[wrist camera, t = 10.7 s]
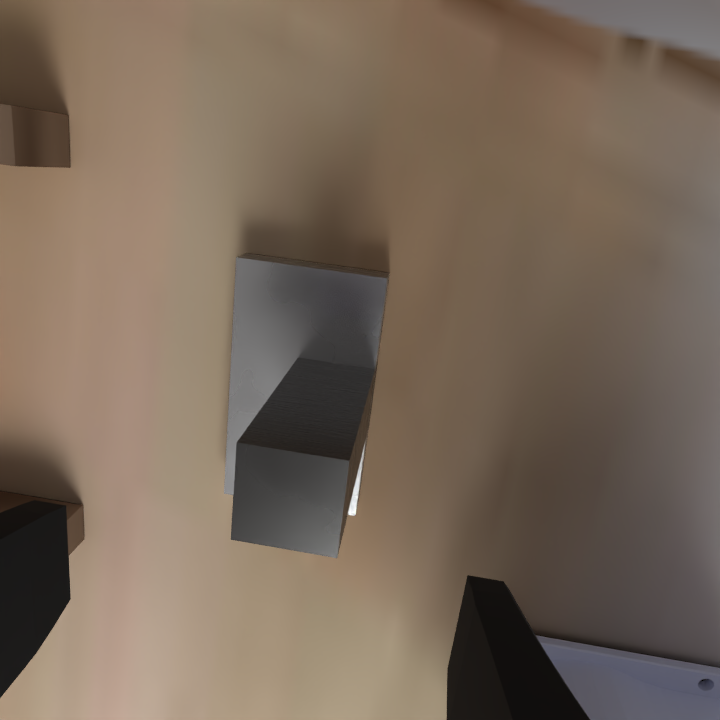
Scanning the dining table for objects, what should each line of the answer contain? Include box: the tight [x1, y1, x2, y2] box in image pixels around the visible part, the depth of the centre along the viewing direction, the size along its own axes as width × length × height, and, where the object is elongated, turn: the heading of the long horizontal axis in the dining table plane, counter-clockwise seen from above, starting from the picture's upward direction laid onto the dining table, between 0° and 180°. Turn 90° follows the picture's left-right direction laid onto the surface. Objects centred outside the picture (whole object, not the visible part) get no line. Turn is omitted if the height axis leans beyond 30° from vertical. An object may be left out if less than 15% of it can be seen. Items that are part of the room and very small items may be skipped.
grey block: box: [224, 253, 390, 558], centre depth 16 cm, size 4×8×7 cm, turn 173°
